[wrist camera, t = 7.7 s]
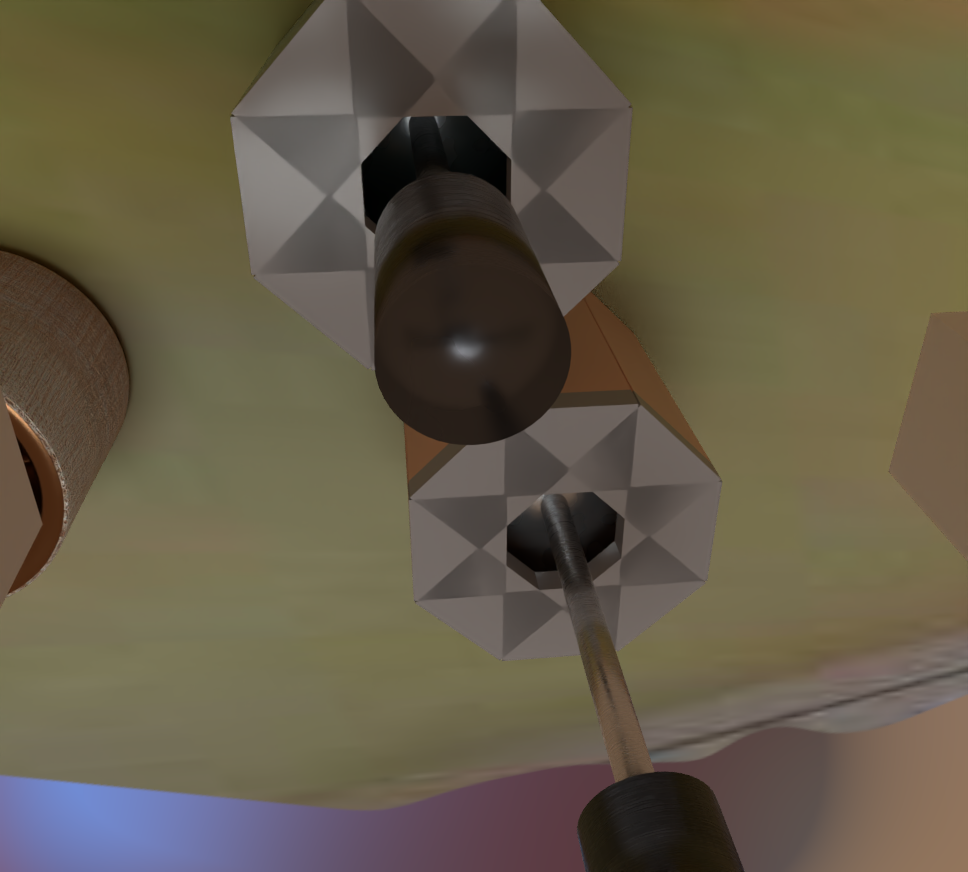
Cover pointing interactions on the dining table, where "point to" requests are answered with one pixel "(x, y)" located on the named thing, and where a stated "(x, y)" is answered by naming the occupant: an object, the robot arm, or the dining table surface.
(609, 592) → the pot terracotta
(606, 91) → the pot teal
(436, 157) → the dark brown cylinder-topped rod
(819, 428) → the dining table surface
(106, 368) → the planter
